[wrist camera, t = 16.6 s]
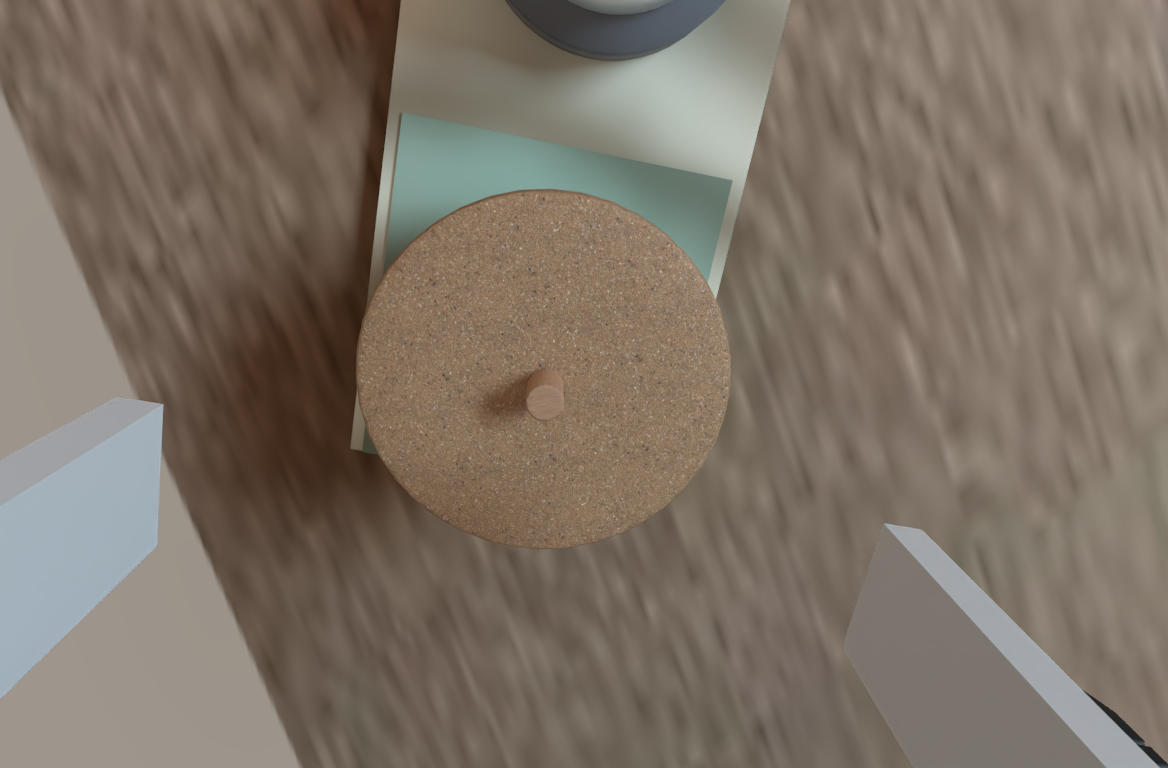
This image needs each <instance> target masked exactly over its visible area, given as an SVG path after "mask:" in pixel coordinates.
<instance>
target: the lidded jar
mask: <svg viewBox="0 0 1168 768" xmlns="http://www.w3.org/2000/svg"><path fill="white" fill-rule="evenodd" d="M730 382H731V356H730V349H729V342H728V335H727V330H726V327H725V324H724V321H723V317H722V314H721V311H720V308H719V305H718V303H717V301H716V299H715V297H714V295H713V293H712V291H711V289H710V287H709V285H708V283H707V281H706V279H705V278H704V276H703V275H702V273H701V272H700V271H699V269H698V268H697V267H696V265H695V264H694V263H693V261H692V260H691V258H690V257H689V256H688V254H687V253H685V252H684V251H683V250H682V249H681V248H680V247H679V246H678V245H677V244H676V243H675V242H674V241H673V240H672V239H671V238H670V237H669V236H668V235H667V234H666V233H665V232H664V231H662V230H661V229H659V228H658V227H656V226H655V225H654V224H652V223H651V222H649V221H648V220H646V219H645V218H644V217H642V216H641V215H639V214H637V213H635V212H633V211H631V210H629V209H627V208H625V207H623V206H620V205H618V204H616V203H614V202H612V201H609V200H606V199H603V198H599V197H596V196H592V195H589V194H585V193H582V192H575V191H566V190H558V189H528V190H517V191H512V192H507V193H502V194H497V195H492V196H489V197H486V198H483V199H481V200H478V201H475V202H473V203H470V204H468V205H465V206H462V207H460V208H458V209H457V210H455V211H453V212H451V213H450V214H448V215H446V216H445V217H443V218H441V219H440V220H438V221H436V222H434V223H433V224H432V225H430V226H429V227H428V228H427V229H426V230H424V231H423V232H422V233H421V234H420V235H418V236H417V237H416V238H415V239H414V240H412V241H411V242H410V243H409V244H408V245H407V246H406V247H405V248H404V250H403V251H402V252H401V253H400V254H399V255H398V257H397V258H396V259H395V260H394V261H393V262H392V264H391V265H390V266H389V267H388V269H387V270H386V272H385V274H384V275H383V277H382V279H381V280H380V282H379V284H378V285H377V287H376V289H375V290H374V292H373V294H372V297H371V299H370V302H369V305H368V307H367V310H366V312H365V315H364V317H363V320H362V325H361V330H360V334H359V339H358V344H357V352H356V384H357V391H358V399H359V406H360V409H361V412H362V416H363V419H364V422H365V425H366V429H367V432H368V434H369V436H370V438H371V440H372V442H373V444H374V446H375V448H376V450H377V453H378V455H379V457H380V458H381V460H382V461H383V463H384V464H385V465H386V467H387V468H388V470H389V471H390V472H391V474H392V475H393V477H394V478H395V480H396V481H397V482H398V483H399V484H400V485H401V486H402V487H403V488H404V489H405V490H406V491H407V492H408V493H409V494H410V495H411V496H412V497H413V499H414V500H416V501H417V502H418V503H419V504H421V505H422V506H423V507H425V508H426V509H427V510H429V511H430V512H431V513H432V514H434V515H435V516H436V517H438V518H440V519H441V520H443V521H445V522H447V523H449V524H450V525H452V526H454V527H456V528H457V529H459V530H461V531H464V532H466V533H469V534H471V535H474V536H477V537H479V538H482V539H484V540H487V541H492V542H496V543H500V544H505V545H509V546H513V547H525V548H536V549H548V548H567V547H573V546H578V545H583V544H588V543H593V542H597V541H600V540H603V539H606V538H608V537H611V536H614V535H617V534H620V533H622V532H624V531H626V530H628V529H630V528H632V527H634V526H636V525H638V524H640V523H642V522H644V521H645V520H647V519H648V518H649V517H651V516H652V515H654V514H655V513H656V512H658V511H659V510H661V509H662V508H664V507H665V506H666V505H667V504H669V503H670V502H671V501H672V500H673V499H674V498H675V497H676V496H677V495H678V494H679V493H680V492H681V491H682V490H683V489H684V488H685V487H686V486H687V485H688V484H689V482H690V481H691V480H692V478H693V477H694V476H695V474H696V473H697V472H698V471H699V469H700V468H701V467H702V465H703V464H704V462H705V460H706V458H707V456H708V455H709V453H710V451H711V449H712V447H713V445H714V444H715V442H716V439H717V437H718V434H719V431H720V428H721V426H722V423H723V420H724V417H725V414H726V409H727V403H728V398H729V393H730Z"/></svg>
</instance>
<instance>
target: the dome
mask: <svg viewBox="0 0 1168 768" xmlns="http://www.w3.org/2000/svg"><path fill="white" fill-rule="evenodd" d="M568 1H569V2H572V3H574V4H576V5H578V6H580V7H582V8H585V9H588V10H592V11H595V12H599V13H606V14H612V15H628V14H636V13H643V12H646V11H649V10H653V9H656V8H659V7H661V6H663V5H665V4H668V3H670V2H672V1H673V0H568Z"/></svg>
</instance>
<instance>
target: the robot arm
mask: <svg viewBox="0 0 1168 768" xmlns="http://www.w3.org/2000/svg"><path fill="white" fill-rule="evenodd" d="M162 422H163V404H159V403H152V402H146V401H140V400H134V399H128V398H122V397H115V398H114V399H112V400H110V401H108V402H106V403H105V404H103V405H101V406H99V407H97V408H95V409H93V410H92V411H90V412H88V413H86V414H84V415H82V416H80V417H79V418H77V419H75V420H73V421H71V422H69V423H67V424H66V425H64V426H62V427H60V428H58V429H56V430H55V431H53V432H51V433H49V434H47V435H45V436H43V437H42V438H40V439H38V440H36V441H34V442H33V443H31V444H29V445H27V446H25V447H23V448H21V449H19V450H18V451H16V452H14V453H12V454H10V455H8V456H7V457H5V458H3V459H1V460H0V699H1V698H2V697H3V696H4V695H5V694H6V693H7V692H8V691H9V690H10V689H11V688H12V687H13V686H14V685H15V684H16V683H17V682H18V681H19V680H20V679H21V678H22V677H23V676H24V675H25V674H26V673H27V672H28V671H29V670H30V669H31V668H32V667H33V666H34V665H35V664H37V663H38V662H39V661H40V660H41V659H42V658H43V657H44V656H45V655H46V654H47V653H48V652H49V651H50V650H51V649H52V648H53V647H54V646H55V645H56V644H57V643H58V642H59V641H60V640H61V639H62V638H63V637H64V636H65V635H66V634H67V633H68V632H69V631H70V630H71V629H72V628H74V627H75V626H76V625H77V624H78V623H79V622H80V621H81V620H82V619H83V618H84V617H85V616H86V615H87V614H88V613H89V612H90V611H91V610H92V609H93V608H94V607H95V606H96V605H97V604H98V603H99V602H100V601H101V600H102V599H103V598H104V597H105V596H106V595H107V594H108V593H109V592H110V591H111V590H112V589H114V588H115V587H116V586H117V585H118V584H119V583H120V582H121V581H122V580H123V579H124V578H125V577H126V576H127V575H128V574H129V573H130V572H131V571H132V570H133V569H134V568H135V567H136V566H137V565H138V564H139V563H140V562H141V561H142V560H143V559H144V558H145V557H146V556H147V555H148V554H149V553H151V552H152V551H153V550H154V549H155V548H156V546H157V538H158V515H159V492H160V491H159V490H160V468H161V445H162ZM842 649H843V651H844V652H845V654H846V656H847V657H848V659H849V661H850V662H851V664H852V666H853V667H854V669H855V671H856V672H857V674H858V676H859V678H860V679H861V681H862V683H863V684H864V686H865V688H866V689H867V691H868V693H869V694H870V696H871V698H872V699H873V701H874V703H875V705H876V706H877V708H878V710H879V711H880V713H881V715H882V716H883V718H884V720H885V721H886V723H887V725H888V726H889V728H890V730H891V731H892V733H893V735H894V737H895V738H896V740H897V742H898V743H899V745H900V747H901V748H902V750H903V752H904V753H905V755H906V757H907V758H908V760H909V762H910V764H911V765H912V767H913V768H1168V764H1167V763H1166V762H1165V761H1164V760H1163V759H1162V758H1161V757H1160V756H1159V755H1158V754H1157V753H1156V752H1155V751H1154V750H1153V749H1152V748H1151V747H1147V746H1145V744H1144V742H1145V741H1144V740H1143V739H1142V738H1141V737H1140V736H1139V735H1138V734H1137V733H1136V732H1135V731H1134V730H1133V729H1132V728H1131V727H1130V726H1129V725H1127V724H1126V723H1125V722H1124V721H1123V720H1122V719H1121V718H1120V717H1119V716H1118V715H1117V714H1116V713H1115V712H1114V711H1112V710H1111V709H1109V708H1108V707H1106V706H1105V705H1104V704H1102V703H1101V702H1099V701H1098V700H1096V699H1095V698H1094V697H1092V696H1091V695H1089V694H1088V693H1086V692H1085V691H1083V690H1082V689H1081V688H1080V687H1079V686H1078V685H1077V684H1076V683H1075V682H1074V681H1073V680H1072V679H1071V678H1070V677H1069V676H1068V675H1067V674H1066V673H1065V672H1064V671H1063V670H1062V669H1061V668H1060V667H1059V666H1058V665H1057V664H1056V663H1055V662H1054V661H1053V660H1052V659H1051V658H1050V657H1049V656H1048V655H1047V654H1046V653H1045V652H1044V651H1043V650H1042V649H1041V648H1040V647H1039V646H1038V645H1037V644H1036V643H1035V642H1034V641H1033V640H1032V639H1031V638H1030V637H1029V636H1028V635H1027V634H1026V633H1025V632H1024V631H1023V630H1022V629H1021V628H1020V627H1019V626H1018V625H1017V624H1016V623H1015V622H1014V621H1013V620H1012V619H1011V618H1010V617H1009V616H1008V615H1007V614H1006V613H1005V612H1004V611H1003V610H1002V609H1001V608H1000V607H999V606H998V605H997V604H996V603H995V602H994V601H993V600H992V599H991V598H990V597H989V596H988V595H987V594H986V593H985V592H984V591H983V590H982V589H981V588H980V587H979V586H978V585H977V584H976V583H975V582H974V581H973V580H972V579H971V578H970V577H969V576H968V575H967V574H966V573H965V572H964V571H963V570H962V569H961V568H960V567H959V566H958V565H957V564H956V563H955V562H954V561H953V560H952V559H951V558H950V557H949V556H948V555H947V554H946V553H945V552H944V551H943V550H942V549H941V548H940V547H939V546H938V545H937V544H936V543H935V542H934V541H933V540H932V539H931V538H930V537H929V536H928V535H927V534H926V533H925V532H924V531H923V530H921V529H915V528H909V527H903V526H897V525H891V524H885V523H883V526H882V529H881V532H880V535H879V538H878V541H877V544H876V547H875V550H874V553H873V556H872V559H871V562H870V565H869V568H868V571H867V574H866V577H865V580H864V583H863V586H862V589H861V592H860V595H859V598H858V601H857V604H856V607H855V610H854V613H853V616H852V619H851V622H850V625H849V628H848V631H847V634H846V637H845V640H844V643H843V645H842Z"/></svg>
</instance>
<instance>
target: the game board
mask: <svg viewBox="0 0 1168 768" xmlns="http://www.w3.org/2000/svg"><path fill="white" fill-rule="evenodd" d="M790 1H791V0H673V1H672V2H670V3H668V4H665V5H663V6H661V7H659V8H656V9H653V10H649V11H646V12H643V13H636V14H628V15H612V14H606V13H599V12H595V11H592V10H588V9H585V8H582V7H580V6H578V5H576V4H574V3H572V2H569V1H568V0H401V6H400V14H399V23H398V32H397V41H396V50H395V59H394V67H393V76H392V85H391V94H390V103H389V112H388V120H387V129H386V138H385V147H384V156H383V165H382V173H381V182H380V191H379V200H378V209H377V217H376V226H375V235H374V244H373V253H372V262H371V270H370V279H369V288H368V297H367V306H366V310H367V307H368V305H369V302H370V299H371V297H372V294H373V292H374V290H375V289H376V287H377V285H378V284H379V282H380V280H381V279H382V277H383V275H384V274H385V272H386V270H387V269H388V267H389V266H390V265H391V264H392V262H393V261H394V260H395V259H396V258H397V257H398V255H399V254H400V253H401V252H402V251H403V250H404V248H405V247H406V246H407V245H408V244H409V243H410V242H411V241H412V240H414V239H415V238H416V237H417V236H418V235H420V234H421V233H422V232H423V231H424V230H426V229H427V228H428V227H429V226H430V225H432V224H433V223H434V222H436V221H438V220H440V219H441V218H443V217H445V216H446V215H448V214H450V213H451V212H453V211H455V210H457V209H458V208H460V207H462V206H465V205H468V204H470V203H473V202H475V201H478V200H481V199H483V198H486V197H489V196H492V195H497V194H502V193H507V192H512V191H517V190H528V189H558V190H566V191H575V192H582V193H585V194H589V195H592V196H596V197H599V198H603V199H606V200H609V201H612V202H614V203H616V204H618V205H620V206H623V207H625V208H627V209H629V210H631V211H633V212H635V213H637V214H639V215H641V216H642V217H644V218H645V219H646V220H648V221H649V222H651V223H652V224H654V225H655V226H656V227H658V228H659V229H661V230H662V231H664V232H665V233H666V234H667V235H668V236H669V237H670V238H671V239H672V240H673V241H674V242H675V243H676V244H677V245H678V246H679V247H680V248H681V249H682V250H683V251H684V252H685V253H687V254H688V256H689V257H690V258H691V260H692V261H693V263H694V264H695V265H696V267H697V268H698V269H699V271H700V272H701V273H702V275H703V276H704V278H705V279H706V281H707V283H708V285H709V287H710V289H711V291H712V293H713V295H714V297H715V299H716V297H717V293H718V289H719V285H720V281H721V277H722V273H723V269H724V265H725V261H726V257H727V253H728V249H729V245H730V241H731V237H732V233H733V229H734V225H735V221H736V217H737V213H738V209H739V205H740V201H741V197H742V193H743V189H744V185H745V181H746V177H747V173H748V169H749V165H750V161H751V157H752V153H753V149H754V145H755V141H756V137H757V133H758V129H759V125H760V121H761V117H762V113H763V109H764V105H765V101H766V97H767V93H768V89H769V85H770V81H771V77H772V73H773V69H774V65H775V61H776V57H777V53H778V49H779V45H780V41H781V37H782V33H783V29H784V25H785V21H786V17H787V13H788V9H789V5H790ZM350 449H355V450H361V451H362V452H364V453H370V454H376V455H378V453H377V450H376V448H375V446H374V444H373V442H372V440H371V438H370V436H369V434H368V432H367V429H366V425H365V422H364V419H363V416H362V412H361V409H360V406H359V399H358V391H357V394H356V403H355V412H354V421H353V429H352V438H351V447H350Z"/></svg>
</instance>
